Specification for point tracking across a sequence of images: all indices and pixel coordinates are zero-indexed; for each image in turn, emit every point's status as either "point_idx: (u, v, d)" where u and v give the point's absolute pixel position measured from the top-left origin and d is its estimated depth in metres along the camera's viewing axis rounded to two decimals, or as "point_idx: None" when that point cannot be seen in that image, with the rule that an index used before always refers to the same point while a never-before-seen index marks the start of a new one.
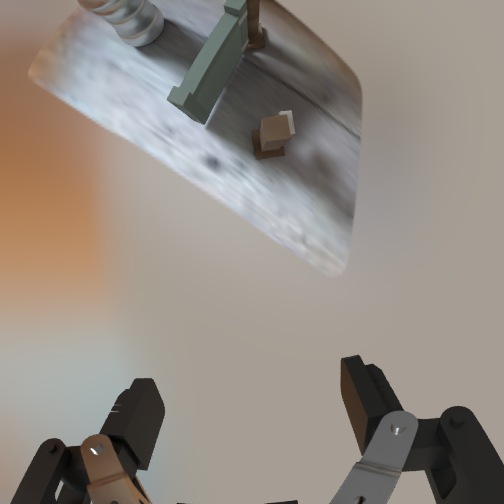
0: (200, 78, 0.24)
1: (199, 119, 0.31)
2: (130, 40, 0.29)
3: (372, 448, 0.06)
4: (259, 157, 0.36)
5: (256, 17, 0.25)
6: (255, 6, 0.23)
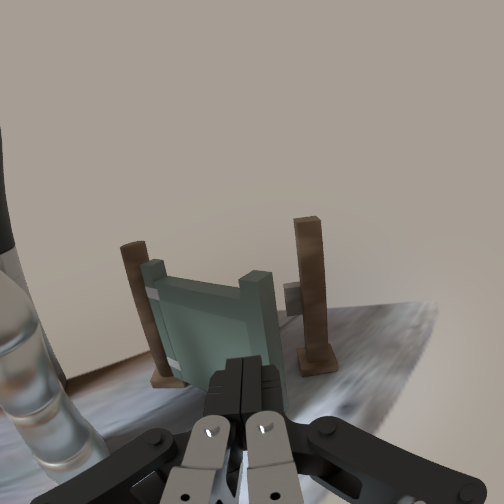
0: (234, 287, 0.21)
1: (283, 374, 0.21)
2: (88, 459, 0.14)
3: (252, 451, 0.07)
4: (335, 360, 0.28)
5: None
6: None
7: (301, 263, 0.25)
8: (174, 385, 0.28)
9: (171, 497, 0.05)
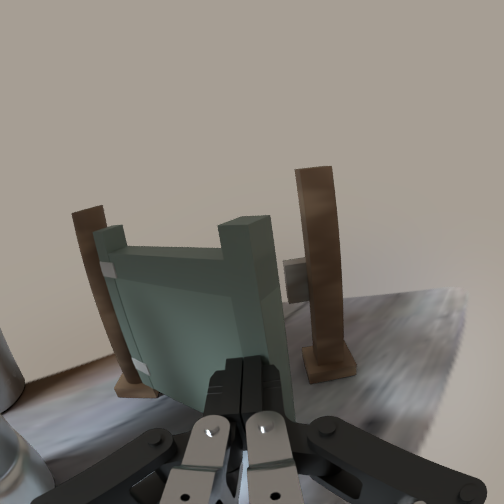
0: (213, 249, 0.14)
1: None
2: (15, 488, 0.07)
3: (253, 451, 0.07)
4: (352, 361, 0.21)
5: None
6: None
7: (307, 226, 0.18)
8: (143, 395, 0.21)
9: (171, 497, 0.05)
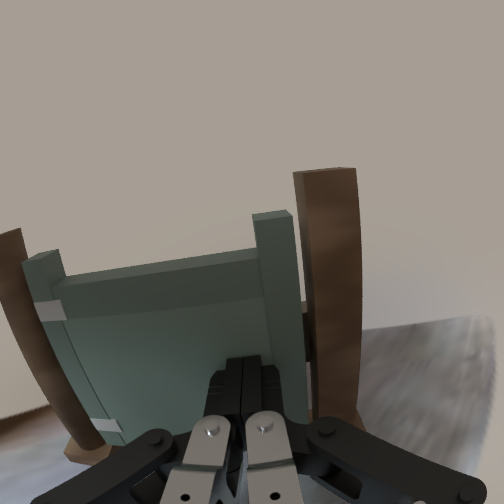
0: (214, 254, 0.13)
1: None
2: None
3: (252, 452, 0.07)
4: None
5: None
6: None
7: (313, 267, 0.11)
8: None
9: (171, 497, 0.05)
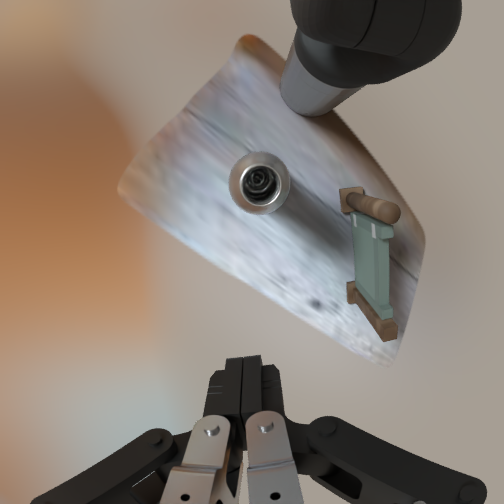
0: (388, 291, 0.36)
1: None
2: None
3: (252, 452, 0.07)
4: (351, 302, 0.49)
5: None
6: None
7: (375, 317, 0.38)
8: (341, 205, 0.45)
9: (171, 497, 0.05)
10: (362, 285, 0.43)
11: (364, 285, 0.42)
